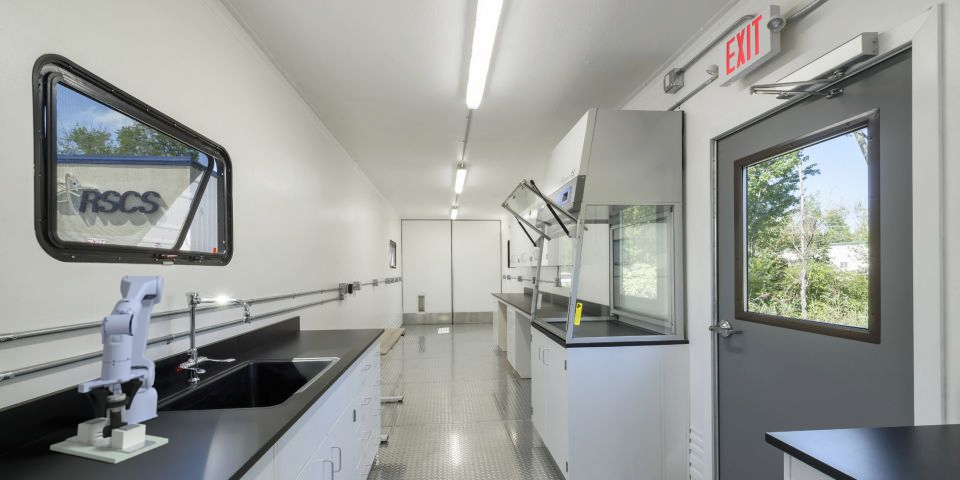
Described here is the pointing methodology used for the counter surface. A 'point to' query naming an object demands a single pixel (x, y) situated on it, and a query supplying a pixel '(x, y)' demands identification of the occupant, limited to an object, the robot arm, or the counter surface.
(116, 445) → the mounted modules
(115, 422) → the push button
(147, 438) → the mounting board
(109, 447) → the rail
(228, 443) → the counter surface
